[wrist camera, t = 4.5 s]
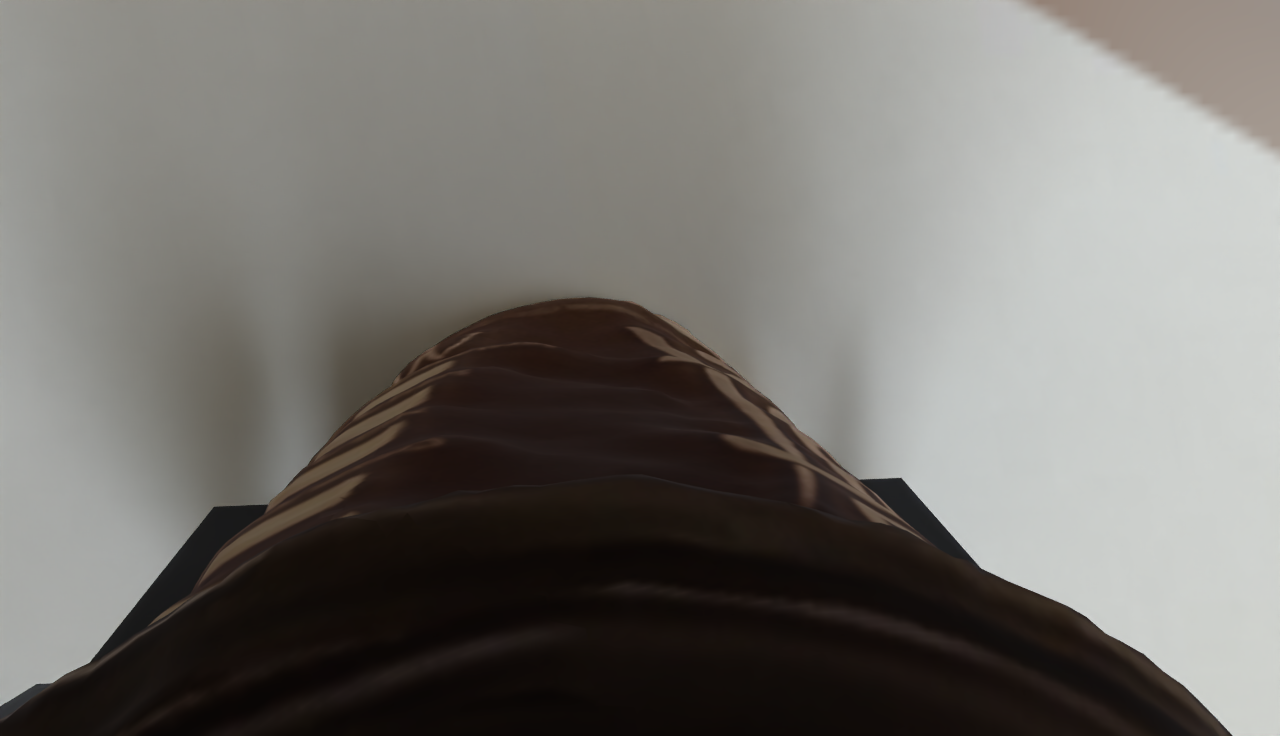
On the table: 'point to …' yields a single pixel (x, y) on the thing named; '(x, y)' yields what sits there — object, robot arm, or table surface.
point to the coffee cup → (598, 576)
